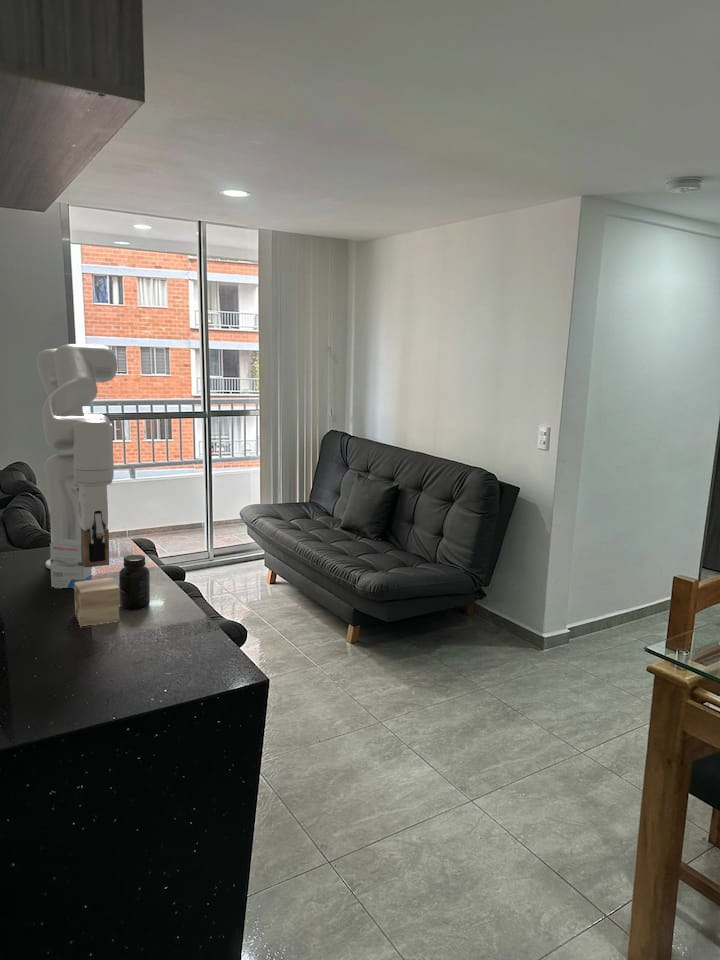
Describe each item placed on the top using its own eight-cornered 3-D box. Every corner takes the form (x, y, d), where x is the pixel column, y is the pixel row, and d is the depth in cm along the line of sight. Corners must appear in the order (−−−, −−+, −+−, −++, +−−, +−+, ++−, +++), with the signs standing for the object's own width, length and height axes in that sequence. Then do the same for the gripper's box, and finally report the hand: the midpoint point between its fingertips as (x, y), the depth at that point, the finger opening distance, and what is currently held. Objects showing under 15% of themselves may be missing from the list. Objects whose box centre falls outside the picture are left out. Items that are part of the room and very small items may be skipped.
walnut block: (81, 561, 145) (80, 526, 144) (105, 559, 148) (104, 524, 147) (84, 567, 141) (84, 531, 140) (109, 565, 144) (108, 529, 142)
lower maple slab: (75, 615, 148) (74, 599, 147) (112, 610, 152) (112, 594, 152) (80, 628, 141) (79, 610, 141) (118, 622, 145) (118, 605, 145)
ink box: (92, 584, 169) (91, 540, 167) (82, 590, 164) (81, 545, 162) (61, 581, 170) (59, 538, 168) (50, 588, 165) (49, 542, 163)
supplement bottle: (113, 608, 153) (112, 559, 151) (130, 599, 159) (130, 551, 157) (139, 612, 151) (138, 562, 149) (155, 603, 158) (155, 555, 156)
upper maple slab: (74, 599, 147) (74, 582, 147) (111, 593, 152) (111, 577, 151) (81, 610, 141) (81, 592, 140) (119, 604, 145) (119, 587, 145)
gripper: (69, 471, 147) (71, 550, 149) (80, 483, 132) (82, 570, 135) (104, 470, 150) (106, 546, 153) (119, 481, 136) (120, 566, 139)
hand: (95, 556), depth 144 cm, fingers closed on walnut block, 5 cm apart
